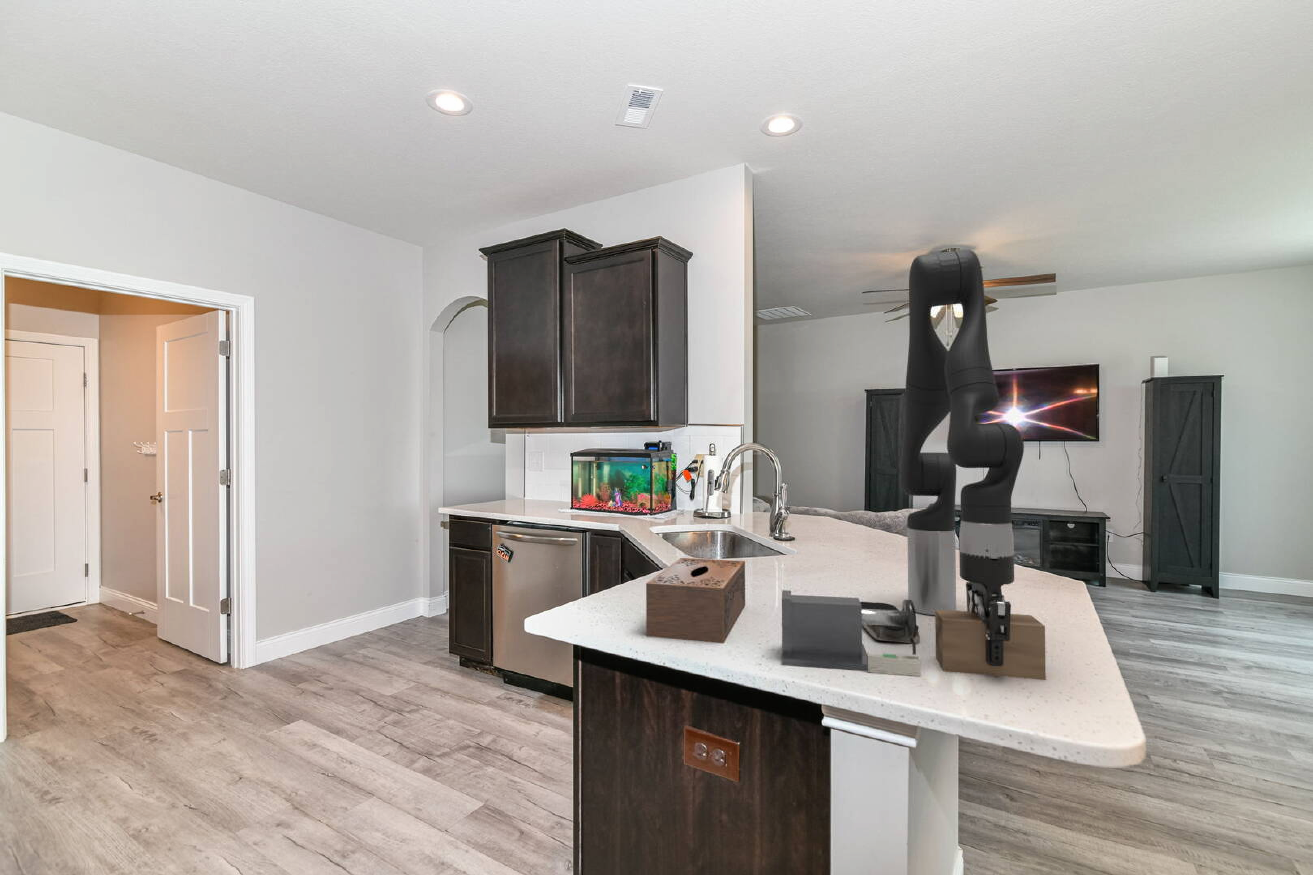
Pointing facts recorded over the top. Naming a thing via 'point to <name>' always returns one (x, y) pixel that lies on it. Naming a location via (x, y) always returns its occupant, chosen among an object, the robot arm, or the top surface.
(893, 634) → the black curved shell
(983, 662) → the walnut block
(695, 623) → the tissue box cover
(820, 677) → the top surface
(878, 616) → the plunger
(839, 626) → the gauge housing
